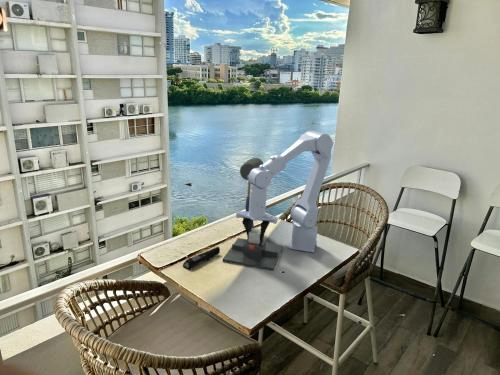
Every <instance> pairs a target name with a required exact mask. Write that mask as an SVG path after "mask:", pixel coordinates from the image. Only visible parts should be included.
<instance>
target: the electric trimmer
mask: <svg viewBox="0 0 500 375" xmlns="http://www.w3.org/2000/svg"><path fill="white" fill-rule="evenodd" d="M220 252H221V248H220V246H216V247H213V248H212V249H209V250H207V251H204V252H201V253H199V254H197V255H195V256H192V257H189V258H187V259H186V260H185V261H184V262H183V264H182V267H183V268H184V269H186V270H187V271H190V270H192V269H193V268H194V267H195V266H197V265H199V264H201V263H203V262H207V261H210V260H212V259H213V258H215V257H216V256H218V255H219V254H221V253H220Z"/></svg>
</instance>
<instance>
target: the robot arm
mask: <svg viewBox="0 0 500 375" xmlns="http://www.w3.org/2000/svg"><path fill="white" fill-rule="evenodd" d="M333 145H334V140H333V139H332V137H331V135H329V134H328V133H323V132H319V131H315V130H313V129H309V130H307V131H306V132H304V133H302V134H301V135H300V136H299V139H297V140H296V141H295V142H294V143H293V144H292V145H291V146H290V147H288V148H287V149H286V150H284V151H283V153H281V154H280V155H279V154H274V155H271V156H269V159H268V160H267V161H265V162H263V165H260V166H259V168H254V169H252V170H251V172H250V173H249V176H248V180H249V182H250V201H249V212H246V210H245V211H242V210H241V211H240V210H237V212H236V214H235V218H236V219H240V218H241V219H242V221H241V222H242V225H243V227H244V229H245V232H246V238H247V239H249V232H250V230H251V225H252V220H253V222H254V221H255V222H257V221H258V222H259V221H260V222H261V223H260V229H261V235H260V241H262V240H263V239H264V237H265V234H266V231H267V228H268V226H269V225H270V223H271V224H274V225H276V224H277V223H278V216H275V215H271V214H267V213H266V206H267V191H268V187H269V186H270V184H271V182H272V180H273V179H274V178H275V176H277V175H279V173H281V172H282V171H284V170H285V169H286V167H287V163H289V162H291V161H292V160H293V159H295V158H297V157H298V156H300V155H301V154H302V153H304V152H311V154H312V156H313V157H314V160H313V163H312V165H311V169H310V171H309V175H308V177H307V181H306V183H305V187H304V190H303V193H302V195H301V198H299V199H297V200H296V201H295V204H294V205H293V207H292V208H291V210H290V212H289V213H290V217H291V219H292V233H291V241H290V243H289V245H288V249H291V250H297V251H301V252H308V253H315V249H316V246H317V243H318V242H317V237H318V226H316V224H317V222H318V212H319V209H318V205H317V200H318V198H319V194H320V191H321V188H322V185H323V182H324V180H325V176H326V173H327V171H328V167H329V166H330V161H331V159H332V148H333ZM248 180H247V181H248Z"/></svg>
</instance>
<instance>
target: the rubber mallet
mask: <svg viewBox="0 0 500 375" xmlns="http://www.w3.org/2000/svg"><path fill="white" fill-rule="evenodd" d="M263 164H264V162H263V161H262V159H260V157H259V158H258V157H252V158H250V159H247V161H245V162H244V163H243V164H242V165H241V166H240V168H239V173H240V176H241V178H242V179H243V180H246V181H248V182H247V195H246V200H245V211H246V212H249V201H250V182H249V180H248V176H249V173H250V172H251V170H252V169H254V168H259V166H260V165H263ZM254 227H255V224H254V221H253V220H252V225H251V229H252V228H254Z"/></svg>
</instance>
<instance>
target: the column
mask: <svg viewBox="0 0 500 375" xmlns="http://www.w3.org/2000/svg"><path fill="white" fill-rule="evenodd" d="M260 235H261V228H254V227H253V228H252V229H251V230H250V232H249V240H248V244H252V245H257V246H261V244H262V241H260Z"/></svg>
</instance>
